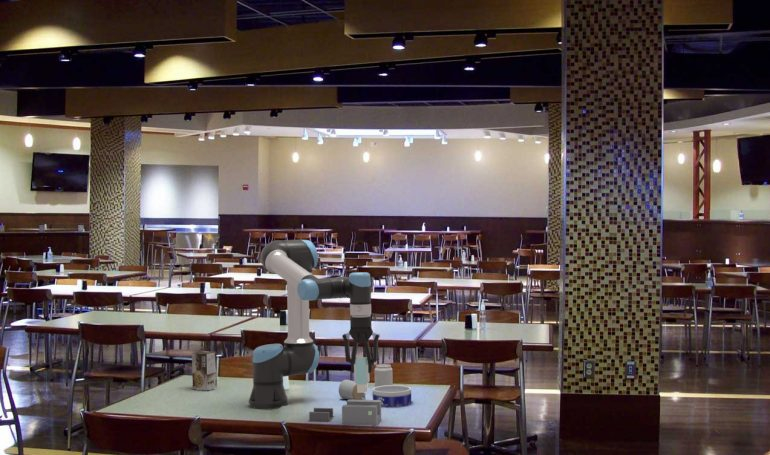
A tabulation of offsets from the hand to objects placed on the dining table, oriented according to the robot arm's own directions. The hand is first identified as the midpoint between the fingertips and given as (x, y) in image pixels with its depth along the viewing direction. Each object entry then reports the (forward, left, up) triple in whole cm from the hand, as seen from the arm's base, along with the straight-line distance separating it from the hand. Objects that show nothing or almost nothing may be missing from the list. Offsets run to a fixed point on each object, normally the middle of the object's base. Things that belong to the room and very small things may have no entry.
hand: (361, 381), depth 300 cm
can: (0, +52, -15) cm, 54 cm away
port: (0, 0, -15) cm, 15 cm away
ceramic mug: (-11, +41, -15) cm, 45 cm away
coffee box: (-79, +55, -15) cm, 98 cm away
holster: (-15, +1, -15) cm, 21 cm away
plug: (0, 0, -4) cm, 4 cm away
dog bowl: (+6, +34, -15) cm, 38 cm away
